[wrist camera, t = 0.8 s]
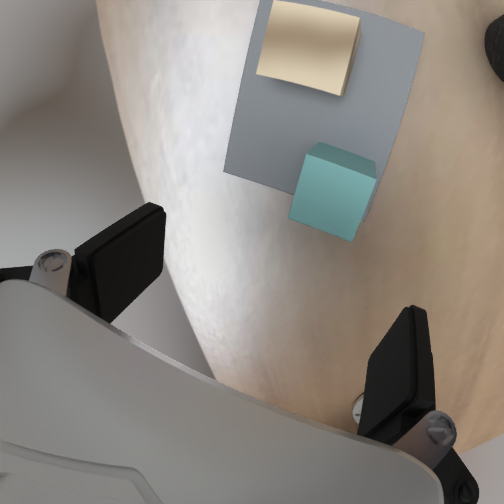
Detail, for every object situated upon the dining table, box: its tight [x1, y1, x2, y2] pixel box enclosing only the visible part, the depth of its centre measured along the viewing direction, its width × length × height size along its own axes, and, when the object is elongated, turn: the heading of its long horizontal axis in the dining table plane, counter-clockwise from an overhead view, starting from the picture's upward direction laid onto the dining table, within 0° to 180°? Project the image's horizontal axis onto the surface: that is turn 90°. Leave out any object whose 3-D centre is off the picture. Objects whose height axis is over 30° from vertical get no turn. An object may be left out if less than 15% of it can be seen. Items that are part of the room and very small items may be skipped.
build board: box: [223, 0, 425, 221], centre depth 23 cm, size 18×14×1 cm
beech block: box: [256, 0, 361, 96], centre depth 19 cm, size 6×6×5 cm
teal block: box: [288, 142, 377, 242], centre depth 23 cm, size 5×5×6 cm
